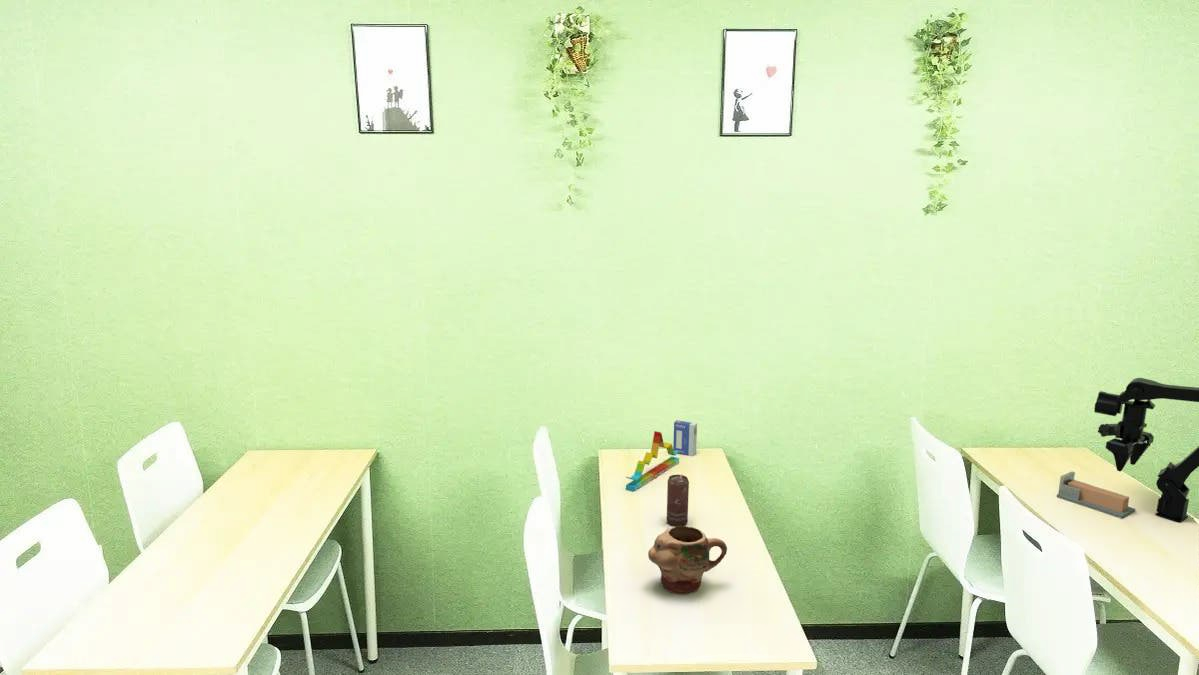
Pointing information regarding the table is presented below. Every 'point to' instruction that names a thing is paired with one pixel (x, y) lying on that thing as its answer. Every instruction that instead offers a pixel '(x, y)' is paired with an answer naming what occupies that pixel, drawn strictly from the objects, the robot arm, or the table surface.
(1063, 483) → the bracket
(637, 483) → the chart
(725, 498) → the table surface
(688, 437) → the walkman
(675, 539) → the brown sculpted mug
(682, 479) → the can
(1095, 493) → the rail
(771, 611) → the table surface
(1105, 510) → the board
